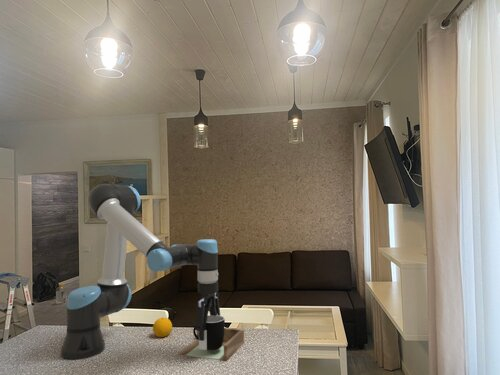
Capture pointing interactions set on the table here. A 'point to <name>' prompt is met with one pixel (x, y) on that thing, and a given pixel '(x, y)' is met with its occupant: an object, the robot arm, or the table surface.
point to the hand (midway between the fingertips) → (208, 344)
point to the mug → (214, 332)
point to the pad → (207, 353)
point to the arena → (230, 343)
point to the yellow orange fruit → (162, 327)
